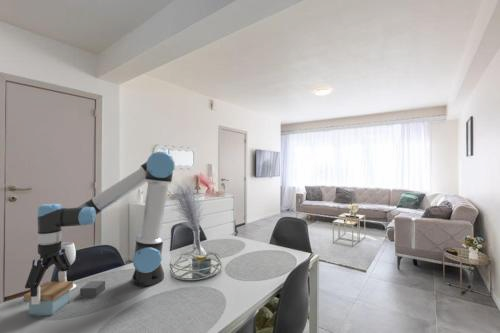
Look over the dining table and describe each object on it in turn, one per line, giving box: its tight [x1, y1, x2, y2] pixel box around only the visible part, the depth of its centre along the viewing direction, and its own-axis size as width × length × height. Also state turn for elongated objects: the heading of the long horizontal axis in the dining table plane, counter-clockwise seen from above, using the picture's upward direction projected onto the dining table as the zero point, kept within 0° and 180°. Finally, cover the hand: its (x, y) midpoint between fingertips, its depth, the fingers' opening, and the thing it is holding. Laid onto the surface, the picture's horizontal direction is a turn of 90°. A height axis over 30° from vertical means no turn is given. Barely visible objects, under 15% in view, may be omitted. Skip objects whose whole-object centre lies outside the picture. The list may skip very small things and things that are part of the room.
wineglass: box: [61, 241, 77, 292], centre depth 117 cm, size 9×9×21 cm
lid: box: [23, 280, 74, 303], centre depth 100 cm, size 11×11×2 cm
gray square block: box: [79, 280, 106, 298], centre depth 113 cm, size 7×7×4 cm
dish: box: [28, 290, 70, 316], centre depth 100 cm, size 9×9×6 cm
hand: (50, 294), depth 100 cm, fingers open, 13 cm apart
